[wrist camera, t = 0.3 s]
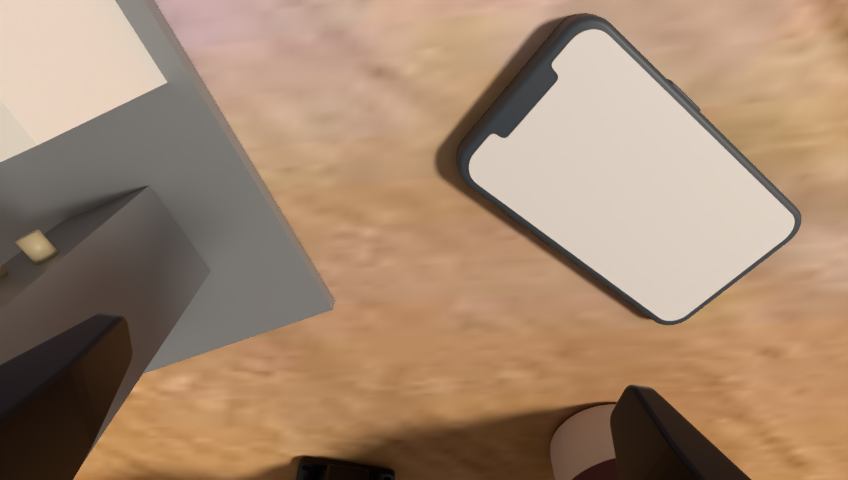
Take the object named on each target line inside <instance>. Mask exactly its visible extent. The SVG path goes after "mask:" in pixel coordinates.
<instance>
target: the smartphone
mask: <svg viewBox="0 0 848 480" xmlns="http://www.w3.org/2000/svg"><path fill="white" fill-rule="evenodd" d="M456 162H457V167H458V171H459V174H460V176H461V178H462V179H463V181H464V182H465V183H466V184H467V185H469V186H470V187H471V188H473V189H474V190H475V191H477V192H478V193H480V194H481V195H482V196H484V197H485V198H486V199H488V200H489V201H491V202H492V203H493V204H495V205H496V206H497V207H499V208H500V209H502V210H503V211H504V212H506V213H507V215H508V216H509V217H511V218H512V219H513V220H515V221H516V222H518V223H519V224H520V225H522V226H523V227H524V228H528V229H529V230H530V231H531V232H532V233H533V234H534V235H535V236H537V237H538V238H540V239H541V240H542V241H544V242H545V243H546V244H548V245H551V246H552V247H554V248H555V249H556V250H558V251H559V252H561V253H562V254H563V255H565V256H566V257H567V258H569V259H570V260H572V261H573V262H574V263H576V264H577V265H578V266H580V267H581V268H582V269H584V270H585V271H587V272H588V273H589V274H591V275H592V276H593V277H595V278H596V279H598V280H599V281H600V282H602V283H603V284H604V285H606V286H607V287H609V288H610V289H611V290H613V291H614V292H615V293H617V294H618V295H620V296H621V297H622V298H624V299H625V300H626V301H628V302H629V303H631V304H632V305H633V306H635V307H636V308H637V309H639V310H640V311H641V312H643V313H644V314H646V315H647V316H648V317H650V318H651V319H652V320H654V321H655V322H657V323H659V324H663V325H674V324H678V323H681V322H683V321H685V320H687V319H688V318H690V317H691V316H692V315H694V314H695V313H696V312H698V311H699V310H700V309H702V308H703V307H704V306H705V305H707V304H708V303H709V302H711V301H712V300H713V299H714V298H716V297H717V296H718V295H720V294H721V293H722V292H724V291H725V290H726V289H727V288H729V287H730V286H731V285H733V284H734V283H735V282H737V281H738V280H739V279H740V278H742V277H743V276H744V275H746V274H747V273H748V272H750V271H751V270H752V269H753V268H755V267H756V266H757V265H759V264H760V263H761V262H763V261H764V260H765V259H766V258H768V257H769V256H770V255H772V254H773V253H774V252H775V251H777V250H778V249H779V248H781V247H782V246H783V245H785V244H786V243H787V242H788V241H790V240H791V239H792V238H793V237H794V236H795V234H796V233H797V231H798V230H799V227H800V225H801V214H800V212H799V210H798V209H797V208H796V207H795V206H794V205H793V204H792V203H791V202H790V201H789V200H788V199H787V198H786V197H785V196H784V195H783V194H782V193H781V192H780V191H779V190H778V189H777V188H776V187H775V186H774V185H773V184H772V183H771V182H770V181H769V180H768V179H767V178H766V177H765V176H764V175H763V174H762V173H761V172H760V171H759V170H758V169H757V168H756V167H755V166H754V165H753V164H752V163H751V162H750V161H749V160H748V159H747V158H746V157H745V156H744V155H743V154H742V153H741V152H740V151H739V150H738V149H737V148H736V147H735V146H734V145H733V144H732V143H731V142H730V141H729V140H728V139H727V138H726V137H725V136H724V135H723V134H722V133H721V132H720V131H719V130H718V129H717V128H716V127H715V126H714V125H713V124H712V123H711V122H710V121H709V120H708V119H707V118H706V117H704V116H703V115H702V114H701V113H700V109H699V107H698V106H697V105H696V104H695V103H694V102H693V101H692V100H691V99H690V98H689V97H688V96H687V95H686V94H685V93H684V92H683V91H682V90H681V89H680V88H679V87H678V86H677V85H676V84H674V83H673V82H672V81H671V80H668V79H666V78H665V77H664V76H663V75H662V74H661V73H660V72H659V71H658V70H657V69H656V68H655V67H654V66H653V65H652V64H651V63H650V62H649V61H648V60H647V59H646V58H645V57H644V56H643V55H642V54H641V53H640V52H639V51H638V50H637V49H636V48H635V47H634V46H633V45H632V44H631V43H630V42H629V41H628V40H627V39H626V38H625V37H624V36H623V35H622V34H621V33H620V32H619V31H618V30H617V29H616V28H615V27H614V26H613V25H612V24H611V23H609V22H608V21H607V20H605V19H603V18H601V17H599V16H596V15H593V14H587V13H585V14H577V15H573V16H571V17H569V18H567V19H566V20H564V21H563V22H562V23H561V24H560V25H559V26H558V27H557V28H556V29H555V30H554V31H553V32H552V34H551V35H550V36H549V37H548V38H547V40H546V41H545V42H544V43H543V44H542V46H541V47H540V48H539V49H538V50H537V52H536V53H535V54H534V55H533V56H532V58H531V59H530V60H529V61H528V62H527V64H526V65H525V66H524V67H523V68H522V70H521V71H520V72H519V73H518V74H517V76H516V77H515V78H514V79H513V80H512V82H511V83H510V84H509V85H508V86H507V88H506V89H505V90H504V91H503V92H502V94H501V95H500V96H499V97H498V98H497V100H496V101H495V102H494V103H493V104H492V106H491V107H490V108H489V109H488V110H487V112H486V113H485V114H484V115H483V116H482V117H481V119H480V120H479V121H478V122H477V123H476V125H475V126H474V127H473V128H472V129H471V131H470V132H469V133H468V134H467V135H466V137H465V138H464V139H463V140H462V142H461V143H460V145H459V147H458V150H457V154H456Z"/></svg>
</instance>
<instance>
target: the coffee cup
mask: <svg viewBox="0 0 848 480" xmlns="http://www.w3.org/2000/svg"><path fill="white" fill-rule="evenodd" d="M615 405H616V404H608V405H600V406H595V407H591V408H588V409H585V410H583V411H581V412H579V413H577V414H575V415H573V416H572V417H570V418H569V419H567V420H566V421H565V422H564V423H563V424H562V425H561V426H560V427H559V428H558V429H557V431H556V432H555V434H554V436H553V438H552V440H551V445H550V457H551V462H552V467H553V472H554V478H555V480H619V475H618V469H617V463H616V457H615V451H614V446H613V440H612V434H611V428H610V416H611V413H612V410H613V409H614V407H615Z"/></svg>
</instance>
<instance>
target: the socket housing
mask: <svg viewBox="0 0 848 480" xmlns="http://www.w3.org/2000/svg"><path fill="white" fill-rule="evenodd" d="M147 186H149V187H150V188H151V190H152V191H153V192H154V194H155V195H156V196H157V198H158V199H159V201H160V202H161V203H162V205H163V206H164V207H165V209H166V210H167V212H168V213H169V214H170V216H171V217H172V218H173V220H174V221H175V223H176V224H177V225H178V227H179V228H180V229H181V231H182V232H183V234H184V235H185V236H186V238H187V239H188V240H189V242H190V243H191V244H192V246H193V247H194V249H195V250H196V251H197V253H198V254H199V255H200V257H201V258H202V260H203V261H204V262H205V264H206V265H207V266H208V268H209V269H210V271H211V272H210V274H209V275H208V277H207V278H206V280H205V281H204V283H203V284H202V286H201V287H200V289H199V290H198V292H197V293H196V295H195V296H194V298H193V299H192V301H191V302H190V304H189V305H188V307H187V308H186V310H185V311H184V313H183V314H182V316H181V317H180V319H179V320H178V322H177V323H176V325H175V326H174V328H173V329H172V331H171V332H170V334H169V335H168V337H167V338H166V340H165V341H164V343H163V344H162V346H161V347H160V349H159V350H158V352H157V353H156V354H155V356H154V357H153V359H152V360H151V362H150V363H149V365H148V366H147V368H146V369H145V371H144V372H143V373H146V372H149V371H152V370H155V369H158V368H161V367H164V366H167V365H170V364H173V363H176V362H179V361H182V360H185V359H187V358H190V357H193V356H196V355H199V354H202V353H205V352H208V351H211V350H214V349H217V348H220V347H223V346H226V345H229V344H232V343H235V342H238V341H241V340H244V339H247V338H250V337H253V336H255V335H258V334H261V333H264V332H267V331H270V330H273V329H276V328H279V327H282V326H285V325H288V324H291V323H294V322H297V321H300V320H303V319H306V318H309V317H312V316H315V315H318V314H321V313H323V312H326V311H329V310H332V309H333V306H334V302H335V300H334V298H333V296H332V295H331V293H330V292H329V290H328V288H327V287H326V285H325V283H324V282H323V280H322V278H321V277H320V275H319V273H318V272H317V270H316V268H315V267H314V265H313V263H312V262H311V260H310V258H309V257H308V255H307V253H306V252H305V250H304V248H303V247H302V245H301V243H300V242H299V240H298V238H297V237H296V235H295V233H294V232H293V230H292V228H291V227H290V225H289V223H288V222H287V220H286V219H285V217H284V215H283V214H282V212H281V210H280V209H279V207H278V205H277V204H276V202H275V200H274V199H273V197H272V195H271V194H270V192H269V190H268V189H267V187H266V185H265V184H264V182H263V180H262V179H261V177H260V175H259V174H258V172H257V170H256V169H255V167H254V165H253V164H252V162H251V160H250V159H249V157H248V155H247V154H246V152H245V150H244V149H243V147H242V145H241V144H240V142H239V141H238V139H237V137H236V136H235V134H234V132H233V131H232V129H231V127H230V126H229V124H228V122H227V121H226V119H225V117H224V116H223V114H222V112H221V111H220V109H219V107H218V106H217V104H216V102H215V101H214V99H213V97H212V96H211V94H210V92H209V91H208V89H207V87H206V86H205V84H204V82H203V81H202V79H201V77H200V76H199V74H198V72H197V71H196V69H195V67H194V66H193V64H192V63H191V61H190V59H189V58H188V56H187V54H186V53H185V51H184V49H183V48H182V46H181V44H180V43H179V41H178V39H177V38H176V36H175V34H174V33H173V31H172V29H171V28H170V26H169V24H168V23H167V21H166V19H165V18H164V16H163V14H162V13H161V11H160V9H159V8H158V6H157V4H156V3H155V1H154V0H0V264H1V265H3V264H5V263H6V262H7V261H9V260H10V259H11V258H13V257H14V256H15V255H17V254H18V253H20V252H21V251H22V249H21V248H20V247H19V246H18V245H17V244H16V243H15V241H16V240H18V239H19V238H21V237H23V236H24V235H26V234H28V233H30V232H32V231H34V230H37V229H39V230H40V231H41V233H42V234H43V235H44V234H46V233H47V232H48V231H50V230H51V229H52V228H54V227H55V226H57V225H58V224H59V223H61V222H63V221H65V220H68V219H70V218H73V217H75V216H77V215H80V214H82V213H85V212H87V211H89V210H92V209H94V208H97V207H99V206H101V205H104V204H106V203H109V202H111V201H113V200H116V199H118V198H121V197H123V196H125V195H128V194H130V193H133V192H135V191H138V190H140V189H142V188H145V187H147Z"/></svg>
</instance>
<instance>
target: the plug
mask: <svg viewBox="0 0 848 480" xmlns="http://www.w3.org/2000/svg"><path fill="white" fill-rule="evenodd" d="M15 243H16V244H17V245H18V246H19V247H20V248H21V249H22V251H21V252H20V253H18V254H17V255H15V256H14V257H13V258H11V259H10V260H9V261H7V262H6V263H5V264H3V265H2V266H1V265H0V364H2V363H4V362H6V361H8V360H9V359H11V358H13V357H15V356H17V355H19V354H21V353H23V352H25V351H27V350H28V349H30V348H32V347H34V346H36V345H38V344H40V343H42V342H44V341H45V340H47V339H49V338H51V337H53V336H55V335H57V334H59V333H61V332H63V331H64V330H66V329H68V328H70V327H72V326H74V325H76V324H78V323H80V322H81V321H83V320H85V319H87V318H89V317H91V316H93V315H95V314H98V313H108V314H116V315H122V316H124V317H125V318H126V319H127V321H128V324H129V330H130V336H131V342H132V348H133V355H132V360H131V363H130V366H129V368H128V370H127V372H126V374H125V377H124V379H123V381H122V383H121V385H120V388H119V390H118V392H117V394H116V396H115V398H114V401H113V403H112V405H111V407H110V409H109V412H108V414H107V416H106V418H105V420H104V422H103V425H102V427H101V429H100V431H99V433H98V435H97V437H96V439H95V441H94V444H93V446H92V448H91V449H90V451H89V453H90V452H91V450H92V449H93V447H94V446H95V444H96V443H97V441H98V440H99V438H100V437H101V435H102V434H103V432H104V431H105V429H106V428H107V426H108V425H109V423H110V422H111V420H112V419H113V417H114V416H115V414H116V413H117V411H118V410H119V408H120V407H121V405H122V404H123V402H124V401H125V399H126V398H127V396H128V395H129V393H130V392H131V390H132V389H133V387H134V386H135V384H136V383H137V381H138V380H139V378H140V377H141V375H142V374H143V372H144V371H145V369H146V368H147V366H148V365H149V363H150V362H151V360H152V359H153V357H154V356H155V354H156V353H157V352H158V350H159V349H160V347H161V346H162V344H163V343H164V341H165V340H166V338H167V337H168V335H169V334H170V332H171V331H172V329H173V328H174V326H175V325H176V323H177V322H178V320H179V319H180V317H181V316H182V314H183V313H184V311H185V310H186V308H187V307H188V305H189V304H190V302H191V301H192V299H193V298H194V296H195V295H196V293H197V292H198V290H199V289H200V287H201V286H202V284H203V283H204V281H205V280H206V278H207V277H208V275H209V274H210V272H211V271H210V269H209V268H208V266H207V265H206V264H205V262H204V261H203V260H202V258H201V257H200V255H199V254H198V253H197V251H196V250H195V249H194V247H193V246H192V244H191V243H190V242H189V240H188V239H187V238H186V236H185V235H184V234H183V232H182V231H181V229H180V228H179V227H178V225H177V224H176V223H175V221H174V220H173V218H172V217H171V216H170V214H169V213H168V212H167V210H166V209H165V207H164V206H163V205H162V203H161V202H160V201H159V199H158V198H157V196H156V195H155V194H154V192H153V191H152V190H151V188H150V187H149V186H147V187H145V188H142V189H140V190H138V191H135V192H133V193H130V194H128V195H125V196H123V197H121V198H118V199H116V200H113V201H111V202H109V203H106V204H104V205H101V206H99V207H97V208H94V209H92V210H89V211H87V212H85V213H82V214H80V215H77V216H75V217H73V218H70V219H68V220H65V221H63V222H61V223H59V224H58V225H57V226H55V227H54V228H52V229H51V230H50V231H48V232H47V233H46V234H44V235H43V234H42V233H41V231H40V230H39V229H37V230H34V231H32V232H30V233H28V234H26V235H24V236H23V237H21V238H19V239H18V240H16V241H15ZM89 453H88V455H89ZM88 455H87V456H88ZM87 456H86V458H87ZM86 458H85V459H86ZM84 461H85V460H84ZM82 464H83V463H82Z"/></svg>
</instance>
